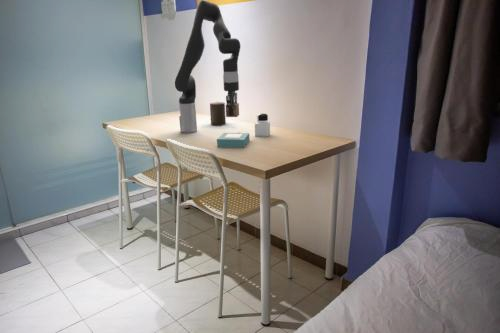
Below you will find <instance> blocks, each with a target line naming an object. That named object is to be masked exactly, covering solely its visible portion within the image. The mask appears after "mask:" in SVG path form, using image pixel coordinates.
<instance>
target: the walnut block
mask: <svg viewBox="0 0 500 333" xmlns="http://www.w3.org/2000/svg"><path fill="white" fill-rule="evenodd" d="M239 103H240V102H239ZM239 103H238V102H237V103H234V104H233V116H229V108H227V104H225V118H238V117H239V116H240V104H239ZM230 105H231V104H230Z"/></svg>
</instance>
